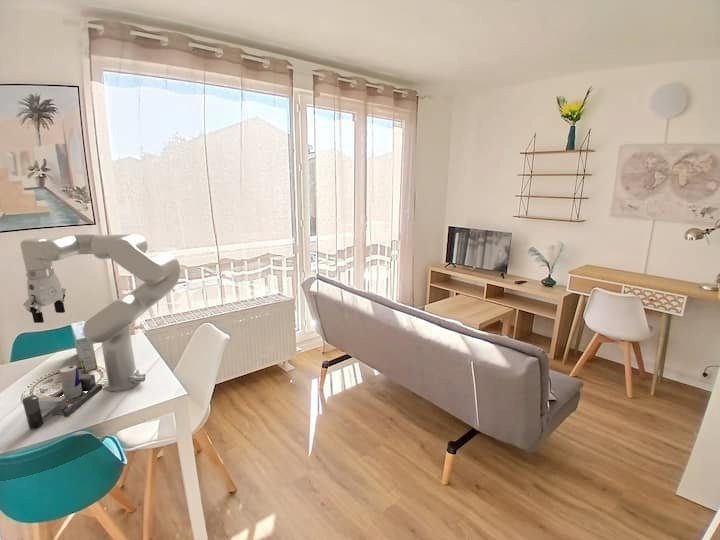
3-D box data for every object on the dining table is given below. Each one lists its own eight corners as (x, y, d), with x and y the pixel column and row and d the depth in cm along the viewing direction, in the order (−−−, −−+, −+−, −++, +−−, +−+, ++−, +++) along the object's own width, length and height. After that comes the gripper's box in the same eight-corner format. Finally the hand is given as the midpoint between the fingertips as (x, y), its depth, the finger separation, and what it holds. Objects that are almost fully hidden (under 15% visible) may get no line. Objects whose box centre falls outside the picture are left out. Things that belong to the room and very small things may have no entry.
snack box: (75, 354, 171) (69, 323, 167) (90, 350, 175) (85, 320, 171) (82, 372, 156) (76, 339, 152) (98, 368, 160) (92, 335, 156)
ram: (68, 409, 131) (63, 384, 129) (43, 429, 121) (37, 402, 119) (45, 409, 131) (39, 383, 129) (19, 428, 121) (12, 401, 119)
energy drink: (86, 393, 142) (81, 364, 139) (76, 401, 136) (70, 372, 133) (72, 393, 141) (66, 364, 138) (61, 402, 136) (55, 372, 133)
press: (102, 388, 145) (99, 374, 143) (68, 416, 128) (64, 401, 127) (70, 387, 145) (67, 373, 143) (32, 416, 128) (28, 400, 127)
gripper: (30, 279, 127) (40, 326, 131) (69, 267, 143) (77, 309, 148) (8, 279, 127) (19, 326, 131) (50, 266, 144) (58, 308, 148)
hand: (50, 317), depth 140 cm, fingers open, 9 cm apart
